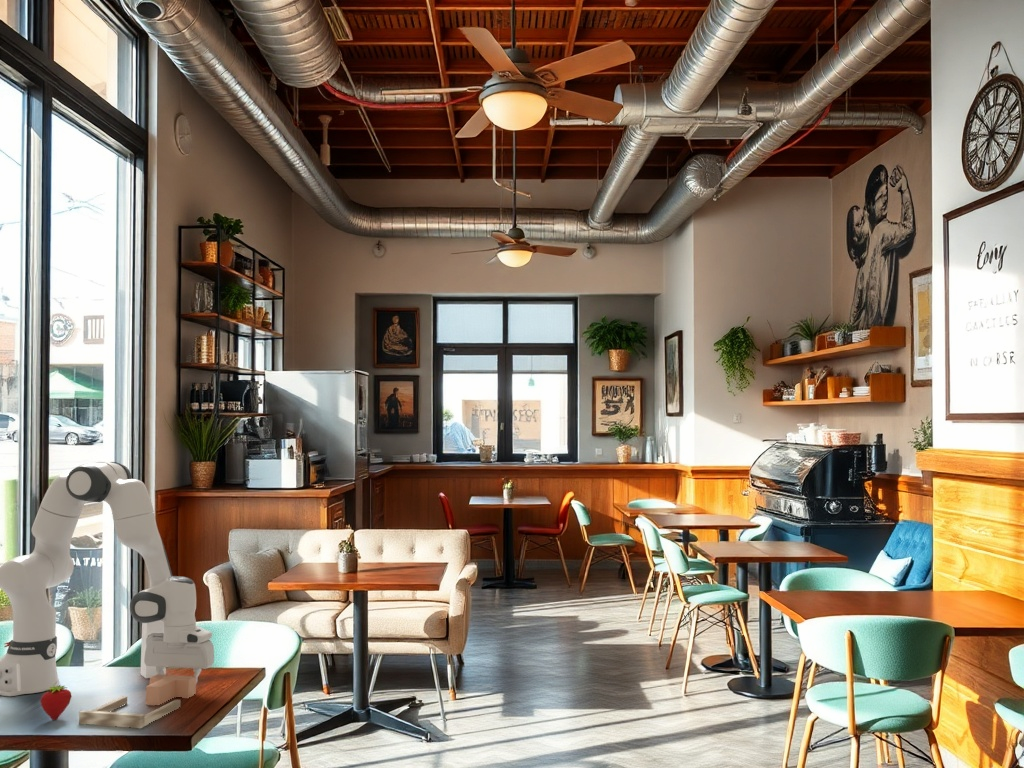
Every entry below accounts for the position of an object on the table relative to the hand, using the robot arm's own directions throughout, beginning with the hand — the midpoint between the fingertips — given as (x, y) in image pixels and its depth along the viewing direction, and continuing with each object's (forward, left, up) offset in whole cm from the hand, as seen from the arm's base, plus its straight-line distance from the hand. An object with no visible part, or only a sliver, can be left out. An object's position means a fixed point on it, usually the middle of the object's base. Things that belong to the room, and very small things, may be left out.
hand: (178, 682), depth 257 cm
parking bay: (0, -21, -3) cm, 21 cm away
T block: (0, -7, -3) cm, 7 cm away
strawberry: (-17, -29, -3) cm, 34 cm away
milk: (-18, +16, -3) cm, 24 cm away
